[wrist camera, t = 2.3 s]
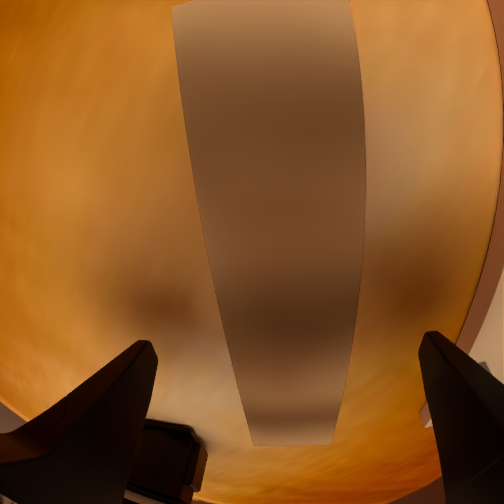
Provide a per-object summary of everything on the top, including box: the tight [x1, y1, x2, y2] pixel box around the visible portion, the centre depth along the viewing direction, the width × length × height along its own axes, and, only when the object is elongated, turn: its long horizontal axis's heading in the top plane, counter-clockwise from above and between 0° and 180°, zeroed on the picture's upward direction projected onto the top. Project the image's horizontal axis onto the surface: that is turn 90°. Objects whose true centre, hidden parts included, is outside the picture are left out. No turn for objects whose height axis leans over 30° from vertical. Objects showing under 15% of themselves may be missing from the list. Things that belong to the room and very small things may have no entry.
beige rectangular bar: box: [171, 0, 366, 446], centre depth 11 cm, size 20×4×4 cm, turn 6°
